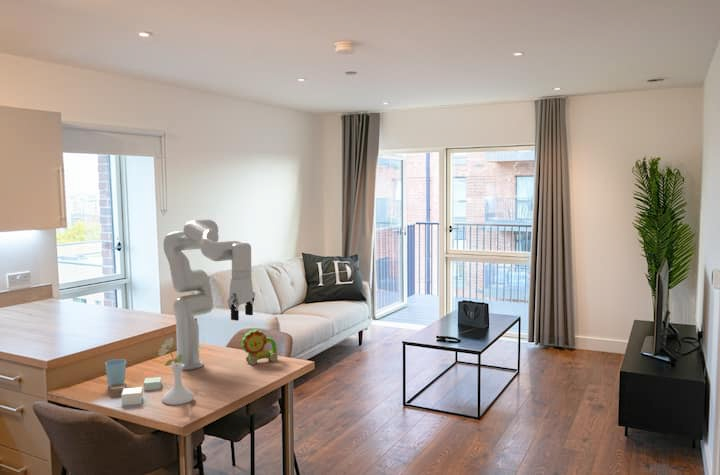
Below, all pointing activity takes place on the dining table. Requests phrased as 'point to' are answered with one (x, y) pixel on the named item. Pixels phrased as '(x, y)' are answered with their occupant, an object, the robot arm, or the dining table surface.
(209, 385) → the dining table surface
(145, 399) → the build plate
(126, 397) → the cream brick
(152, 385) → the sage brick
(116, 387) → the walnut brick
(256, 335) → the toy lion
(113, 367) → the cup
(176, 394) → the flower in vase
